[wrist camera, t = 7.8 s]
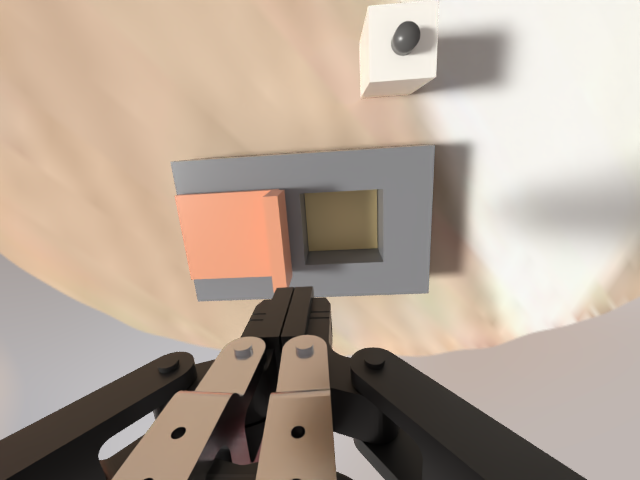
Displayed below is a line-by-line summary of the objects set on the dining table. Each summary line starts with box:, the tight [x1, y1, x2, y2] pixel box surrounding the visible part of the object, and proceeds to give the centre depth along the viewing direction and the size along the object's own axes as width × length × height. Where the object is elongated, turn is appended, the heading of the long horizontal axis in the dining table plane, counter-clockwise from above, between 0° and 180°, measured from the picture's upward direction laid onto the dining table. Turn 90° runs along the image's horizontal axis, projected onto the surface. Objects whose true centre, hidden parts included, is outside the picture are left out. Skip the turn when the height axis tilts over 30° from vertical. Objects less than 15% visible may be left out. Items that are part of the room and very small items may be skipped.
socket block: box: [171, 145, 435, 301], centre depth 27 cm, size 20×12×4 cm, turn 94°
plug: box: [359, 0, 439, 98], centre depth 21 cm, size 4×4×8 cm
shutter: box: [175, 189, 293, 293], centre depth 23 cm, size 8×7×4 cm
